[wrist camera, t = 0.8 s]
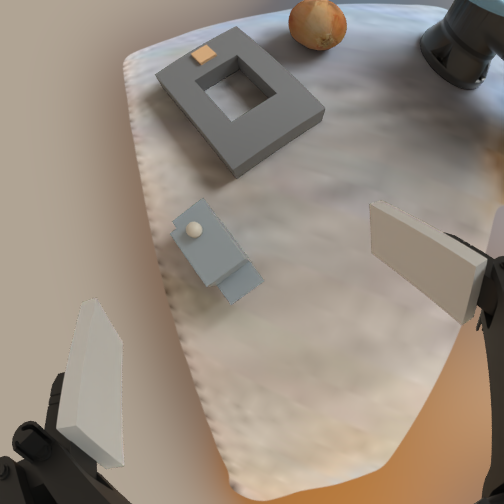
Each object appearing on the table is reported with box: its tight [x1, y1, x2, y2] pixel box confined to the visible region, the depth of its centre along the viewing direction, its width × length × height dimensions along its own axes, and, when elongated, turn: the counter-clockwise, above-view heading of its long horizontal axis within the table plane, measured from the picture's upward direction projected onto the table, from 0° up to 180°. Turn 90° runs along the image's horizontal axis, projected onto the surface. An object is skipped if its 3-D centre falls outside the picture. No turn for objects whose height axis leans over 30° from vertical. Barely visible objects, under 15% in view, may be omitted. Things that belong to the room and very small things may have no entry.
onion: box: [289, 0, 347, 50], centre depth 41 cm, size 10×10×10 cm
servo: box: [170, 198, 264, 305], centre depth 38 cm, size 13×5×12 cm, turn 36°
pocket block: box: [155, 27, 325, 179], centre depth 43 cm, size 22×16×5 cm
